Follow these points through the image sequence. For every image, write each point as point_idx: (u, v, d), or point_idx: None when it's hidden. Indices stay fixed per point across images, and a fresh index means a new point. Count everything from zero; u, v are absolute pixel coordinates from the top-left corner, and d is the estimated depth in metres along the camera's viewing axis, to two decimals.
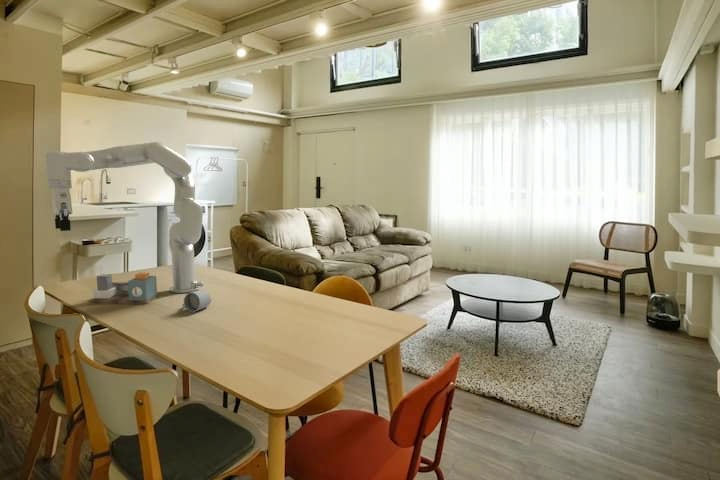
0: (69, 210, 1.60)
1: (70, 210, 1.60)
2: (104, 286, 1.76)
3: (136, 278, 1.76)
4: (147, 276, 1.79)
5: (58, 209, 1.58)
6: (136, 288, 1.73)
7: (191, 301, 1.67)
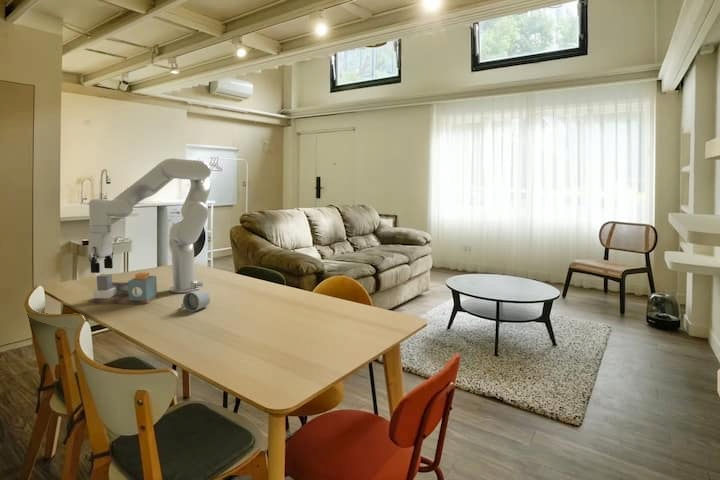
0: None
1: None
2: (104, 286, 1.76)
3: (136, 278, 1.76)
4: (147, 276, 1.79)
5: None
6: (136, 288, 1.73)
7: (190, 301, 1.67)
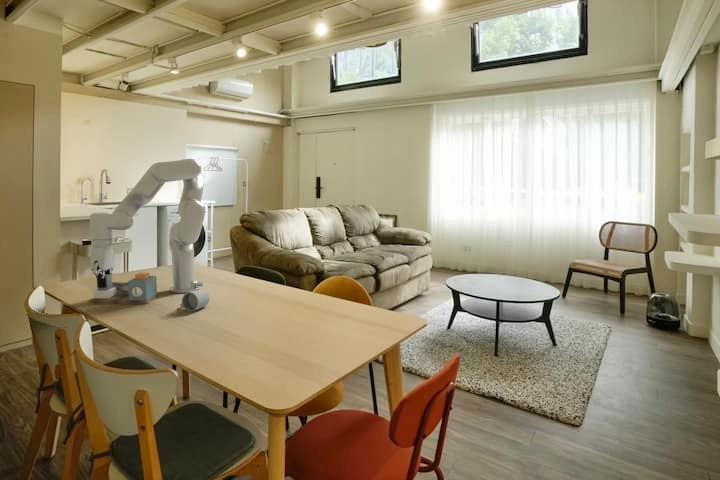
0: None
1: None
2: None
3: (136, 278, 1.76)
4: (147, 276, 1.79)
5: None
6: (136, 288, 1.73)
7: (189, 301, 1.67)
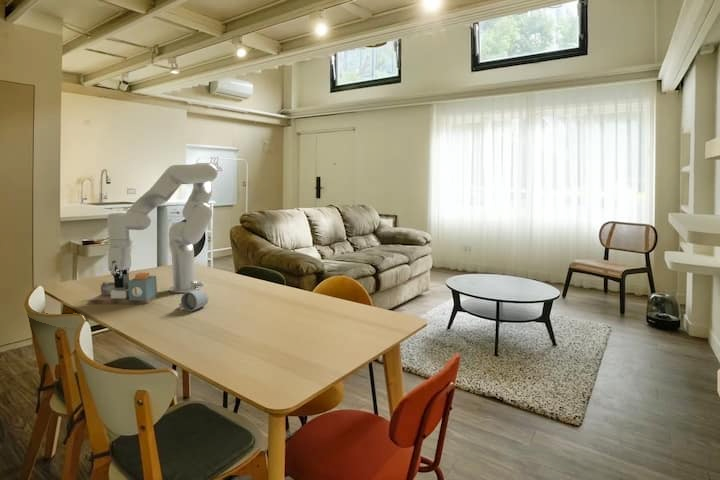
0: None
1: None
2: None
3: (136, 278, 1.76)
4: (147, 276, 1.79)
5: None
6: (136, 288, 1.73)
7: (188, 301, 1.67)
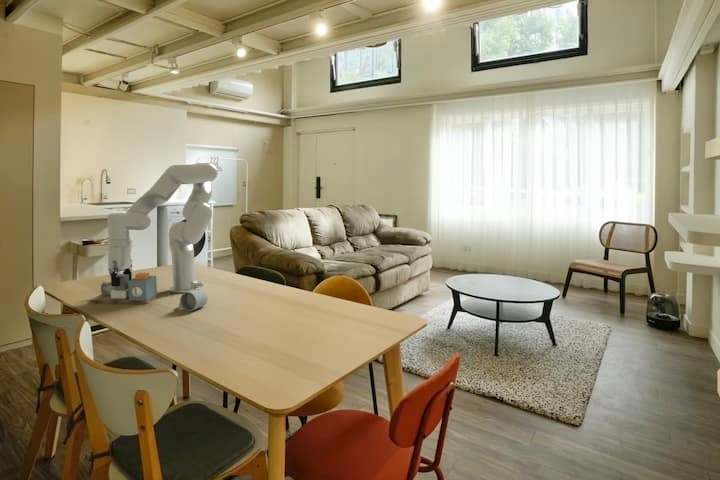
0: None
1: None
2: (121, 286, 1.76)
3: (136, 278, 1.76)
4: (147, 276, 1.79)
5: None
6: (136, 288, 1.73)
7: (187, 300, 1.67)
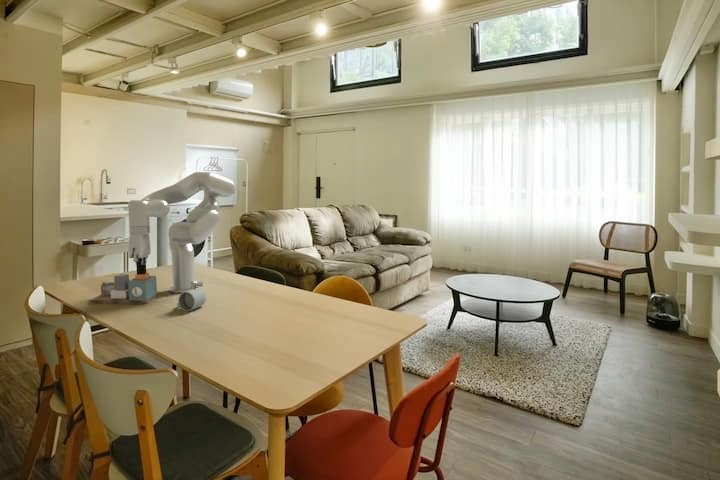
0: None
1: None
2: (121, 286, 1.76)
3: (136, 278, 1.76)
4: (147, 276, 1.79)
5: None
6: (136, 288, 1.73)
7: (186, 300, 1.67)
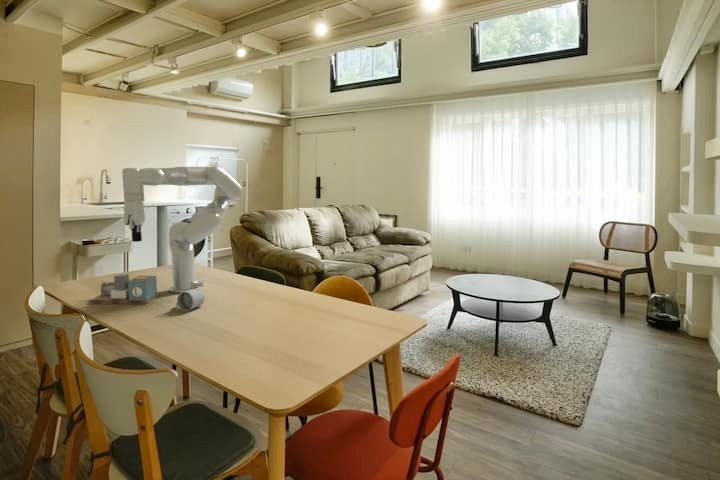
0: None
1: None
2: (121, 286, 1.76)
3: None
4: None
5: None
6: (136, 288, 1.73)
7: (184, 300, 1.68)
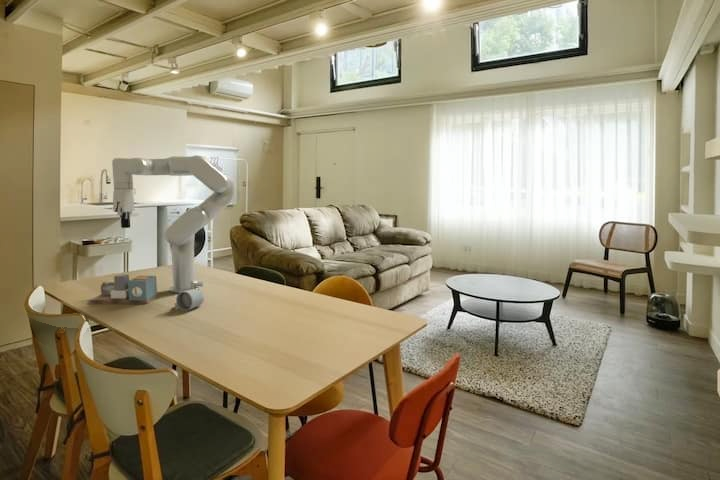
0: None
1: None
2: (121, 286, 1.76)
3: None
4: None
5: None
6: (136, 288, 1.73)
7: (183, 300, 1.68)
